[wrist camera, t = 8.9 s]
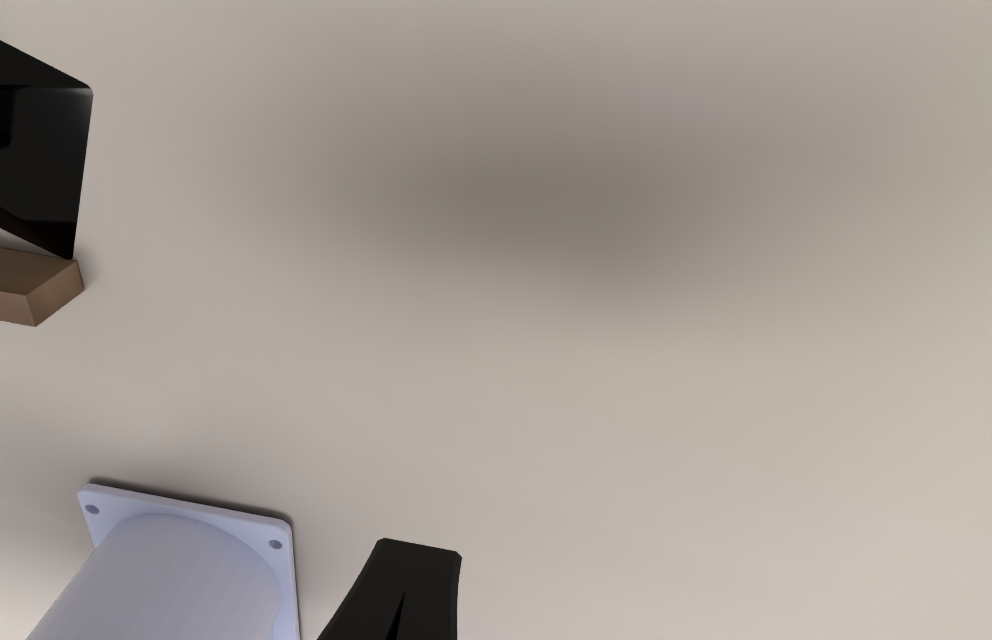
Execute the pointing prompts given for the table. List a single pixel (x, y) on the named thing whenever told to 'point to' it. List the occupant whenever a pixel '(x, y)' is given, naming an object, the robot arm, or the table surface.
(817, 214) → the table surface
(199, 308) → the table surface
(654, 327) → the table surface
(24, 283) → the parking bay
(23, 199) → the black bevelled base
